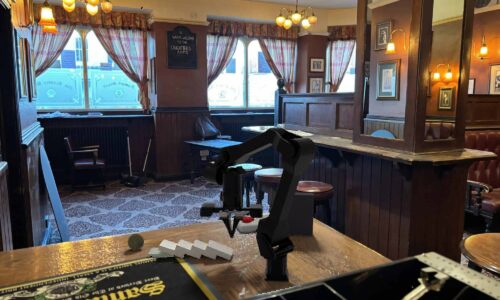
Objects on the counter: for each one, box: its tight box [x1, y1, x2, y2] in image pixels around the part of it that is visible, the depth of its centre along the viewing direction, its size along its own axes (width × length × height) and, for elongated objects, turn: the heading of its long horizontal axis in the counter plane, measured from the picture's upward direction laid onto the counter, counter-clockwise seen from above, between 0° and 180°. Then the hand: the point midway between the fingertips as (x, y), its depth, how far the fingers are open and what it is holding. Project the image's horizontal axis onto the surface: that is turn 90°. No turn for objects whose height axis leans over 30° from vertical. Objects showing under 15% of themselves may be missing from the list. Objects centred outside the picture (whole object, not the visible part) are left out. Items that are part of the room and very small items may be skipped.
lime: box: [127, 233, 145, 251], centre depth 122 cm, size 4×5×5 cm
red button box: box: [236, 215, 260, 233], centre depth 145 cm, size 12×4×10 cm
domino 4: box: [191, 239, 218, 260], centre depth 117 cm, size 5×2×8 cm
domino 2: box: [157, 239, 186, 259], centre depth 118 cm, size 5×2×8 cm
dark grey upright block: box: [287, 192, 315, 237], centre depth 137 cm, size 11×4×15 cm, turn 84°
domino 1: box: [147, 247, 175, 258], centre depth 119 cm, size 5×2×8 cm
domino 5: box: [205, 239, 234, 261], centre depth 117 cm, size 5×2×8 cm
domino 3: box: [175, 238, 203, 260], centre depth 118 cm, size 5×2×8 cm
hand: (231, 237), depth 116 cm, fingers closed
